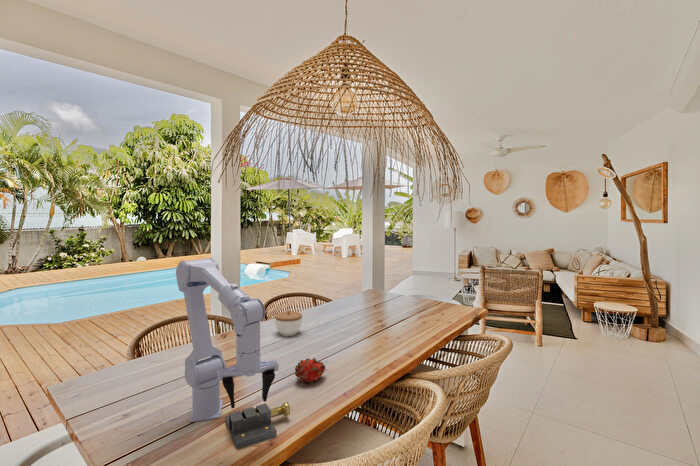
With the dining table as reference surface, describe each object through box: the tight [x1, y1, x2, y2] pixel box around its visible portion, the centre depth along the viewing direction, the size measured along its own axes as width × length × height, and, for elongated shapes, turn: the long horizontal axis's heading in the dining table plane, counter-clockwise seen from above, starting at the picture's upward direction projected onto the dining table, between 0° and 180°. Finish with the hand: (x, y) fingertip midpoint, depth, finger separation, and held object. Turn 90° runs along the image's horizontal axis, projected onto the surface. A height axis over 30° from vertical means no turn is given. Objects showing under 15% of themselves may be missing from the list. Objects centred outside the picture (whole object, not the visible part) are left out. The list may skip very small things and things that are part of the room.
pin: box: [257, 401, 291, 419], centre depth 96 cm, size 3×11×3 cm, turn 121°
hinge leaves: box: [224, 402, 278, 450], centre depth 94 cm, size 13×10×4 cm
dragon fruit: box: [294, 357, 326, 385], centre depth 121 cm, size 8×8×12 cm
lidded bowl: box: [274, 310, 303, 337], centre depth 168 cm, size 13×13×11 cm
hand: (248, 402), depth 88 cm, fingers open, 7 cm apart
